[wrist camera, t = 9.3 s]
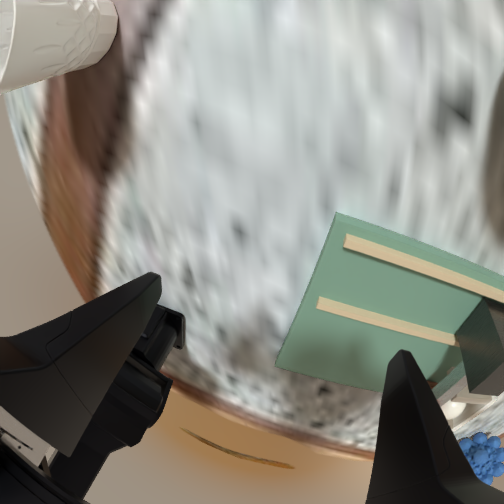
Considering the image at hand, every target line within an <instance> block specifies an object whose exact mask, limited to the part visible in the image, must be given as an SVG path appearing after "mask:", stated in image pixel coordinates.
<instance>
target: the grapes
mask: <svg viewBox="0 0 504 504" xmlns="http://www.w3.org/2000/svg"><path fill="white" fill-rule="evenodd" d="M500 444H501V441H500V438H498V437H497V436H491V437H490V438H489V439H488V440H487V436H486V435H485V434H484V433H477V434H476V435H475V436H474V437H473V441H472V440H471V439H469V438H465V439H463V440H461V441H460V443H459V445H460V447H461V449H462V451H463V453H464V455H465V456H466V458H467V460H468V462H469V464H470V466H471V467H472V469H473V471H474V473H475V474H476V476H477V477H478V478H479V479H480V480H481V481H482V482H484V483H486V484H488V485H491V483H492V482H493V476H494V477H499V476H501V475H502V474H503V473H504V464H503V463H501V462H503V461H504V448H499V447H500Z"/></svg>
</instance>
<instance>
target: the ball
mask: <svg viewBox="0 0 504 504" xmlns="http://www.w3.org/2000/svg"><path fill="white" fill-rule="evenodd" d="M465 406H466V403H460V402H451V399H450V400H449V401H448V402H446V403H445V404H444V405H443V406H441V409H442V411H443V413H444V415H445V417H446V419H447V420H450V419H454V418H456V417H458V416H459V415H460V414H461V413H462V412H463V410H464V409H465Z"/></svg>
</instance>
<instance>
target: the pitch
mask: <svg viewBox="0 0 504 504" xmlns="http://www.w3.org/2000/svg"><path fill="white" fill-rule="evenodd" d="M484 298H486V299H488V300H491V301H494V302H496V303H499V304H502V305H504V276H502V275H499V274H497V273H495V272H493V271H491V270H488V269H486V268H484V267H481V266H479V265H477V264H474V263H472V262H470V261H467V260H465V259H463V258H460V257H458V256H455V255H453V254H450V253H448V252H445V251H443V250H440V249H438V248H435V247H433V246H430V245H428V244H425V243H422V242H420V241H417V240H415V239H412V238H409V237H407V236H404V235H401V234H398V233H396V232H393V231H390V230H387V229H384V228H382V227H379V226H376V225H373V224H370V223H367V222H364V221H361V220H358V219H356V218H353V217H350V216H347V215H343V214H340V213H337V212H336V214H335V216H334V219H333V222H332V225H331V227H330V230H329V233H328V236H327V238H326V241H325V244H324V246H323V249H322V251H321V254H320V257H319V259H318V262H317V264H316V267H315V269H314V272H313V274H312V277H311V279H310V282H309V284H308V287H307V289H306V292H305V294H304V296H303V299H302V301H301V304H300V306H299V308H298V311H297V313H296V315H295V318H294V320H293V322H292V325H291V327H290V329H289V332H288V334H287V336H286V338H285V341H284V343H283V345H282V347H281V350H280V352H279V354H278V356H277V359H276V363H275V367H278V368H282V369H285V370H289V371H292V372H296V373H300V374H303V375H307V376H311V377H315V378H319V379H323V380H327V381H331V382H335V383H339V384H344V385H348V386H353V387H357V388H362V389H367V390H372V391H377V392H382V393H383V389H384V383H385V377H386V371H387V366H388V363H389V361H390V360H391V359H392V358H393V357H394V355H395V354H396V353H397V352H398V351H399V350H400V349H404V350H408V351H410V352H411V353H412V355H413V357H414V358H415V360H416V362H417V364H418V366H419V367H420V369H421V371H422V373H423V375H424V376H425V378H426V380H427V381H430V382H436V383H439V382H440V381H442V380H443V379H444V378H445V377H446V376H447V371H448V370H449V369H450V368H451V367H452V366H453V367H457V366H458V365H459V364H460V363H461V362H462V361H463V359H462V354H461V350H460V346H459V342H458V338H457V334H456V333H457V332H458V330H459V329H460V328H461V327H462V326H463V324H464V323H465V322H466V321H467V320H468V318H469V317H470V316H471V315H472V313H473V312H474V311H475V309H476V308H477V307H478V306H479V304H480V303H481V302H482V300H483V299H484Z"/></svg>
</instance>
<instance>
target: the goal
mask: <svg viewBox="0 0 504 504" xmlns="http://www.w3.org/2000/svg"><path fill="white" fill-rule="evenodd" d="M454 368H455V367H453V366H452V367H451V368H450V369H449V370H448V371H447V375H448V374H449V373H450V372H451V371H452V370H453V369H454ZM496 401H497V396H491V395H481V394H472V393H469V389H468V385H467V386H466V387H465V388H464V389H462V390H461V391H460V392H459V393H458V394H456V395H455V396H454V397H453V398H451V402H460V403H466V406H465V409H464V410H463V412H462V413H461V414H460V415H459V416H458V417H456V418H454V419H450V420H447V421H448V423H449V425H450V427H451V429H452V432H454V431H455V430H457V429H459V428H460V427H462V426H463V425H465V424H466V423H467V422H469V421H470V420H472V419H473V418H475V417H476V416H477V415H479V414H480V413H482V412H483V411H484V410H486V409H487V408H488V407H490V406H491V405H492V404H493V403H495V402H496Z"/></svg>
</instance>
